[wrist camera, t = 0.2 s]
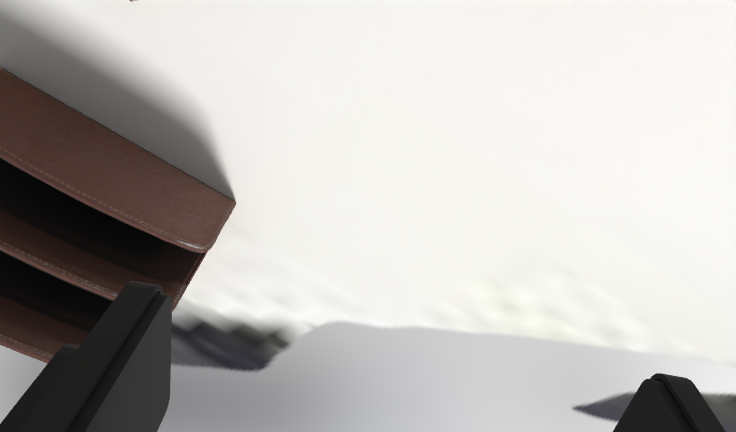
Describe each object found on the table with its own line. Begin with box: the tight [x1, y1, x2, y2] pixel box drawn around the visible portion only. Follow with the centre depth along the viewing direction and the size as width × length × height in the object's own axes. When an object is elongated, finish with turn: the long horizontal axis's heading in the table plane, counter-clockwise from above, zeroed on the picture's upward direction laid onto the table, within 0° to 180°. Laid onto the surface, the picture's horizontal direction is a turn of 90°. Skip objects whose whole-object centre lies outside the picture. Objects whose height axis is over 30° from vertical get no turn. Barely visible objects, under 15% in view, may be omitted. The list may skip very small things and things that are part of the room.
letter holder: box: [0, 68, 236, 363], centre depth 37 cm, size 10×20×14 cm, turn 56°
